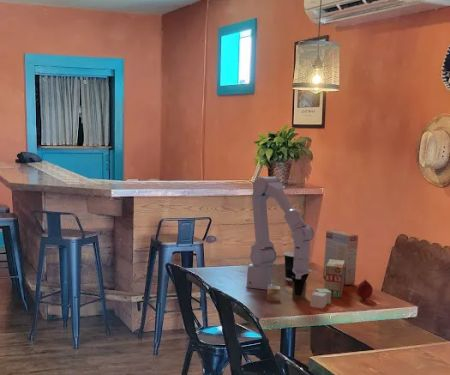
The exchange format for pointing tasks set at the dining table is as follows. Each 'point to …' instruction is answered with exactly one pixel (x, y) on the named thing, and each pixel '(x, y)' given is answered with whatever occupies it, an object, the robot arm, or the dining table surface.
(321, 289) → the sage block
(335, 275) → the stack of blocks
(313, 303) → the white block
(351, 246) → the cracker box
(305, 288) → the walnut bar
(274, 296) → the maple block
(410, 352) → the dining table surface
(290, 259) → the dixie cup
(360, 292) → the onion
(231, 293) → the dining table surface
